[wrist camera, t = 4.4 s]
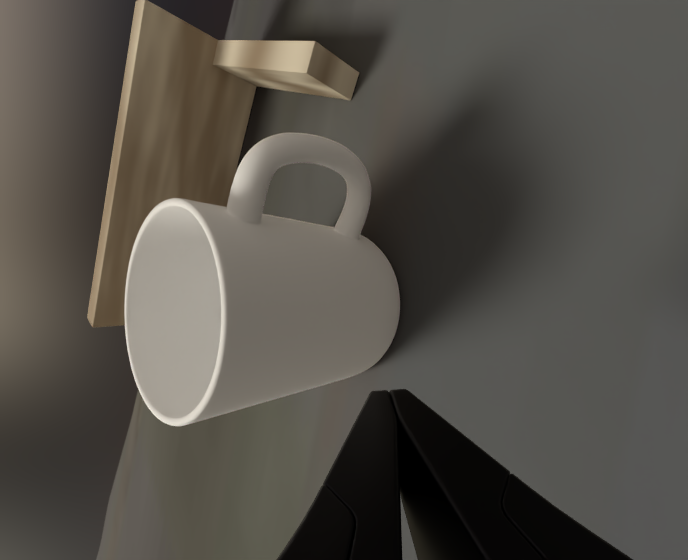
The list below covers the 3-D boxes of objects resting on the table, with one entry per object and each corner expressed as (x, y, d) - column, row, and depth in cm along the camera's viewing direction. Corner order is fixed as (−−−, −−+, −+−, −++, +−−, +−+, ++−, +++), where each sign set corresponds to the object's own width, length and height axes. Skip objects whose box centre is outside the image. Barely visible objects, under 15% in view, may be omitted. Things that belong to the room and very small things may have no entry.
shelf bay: (359, 72, 21) (235, -17, 15) (263, 385, 26) (142, 415, 20) (250, 64, 28) (135, 0, 21) (192, 312, 33) (87, 317, 27)
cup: (280, 321, 25) (111, 336, 17) (350, 148, 21) (172, 68, 13) (363, 406, 20) (180, 479, 12) (472, 202, 16) (306, 127, 9)
